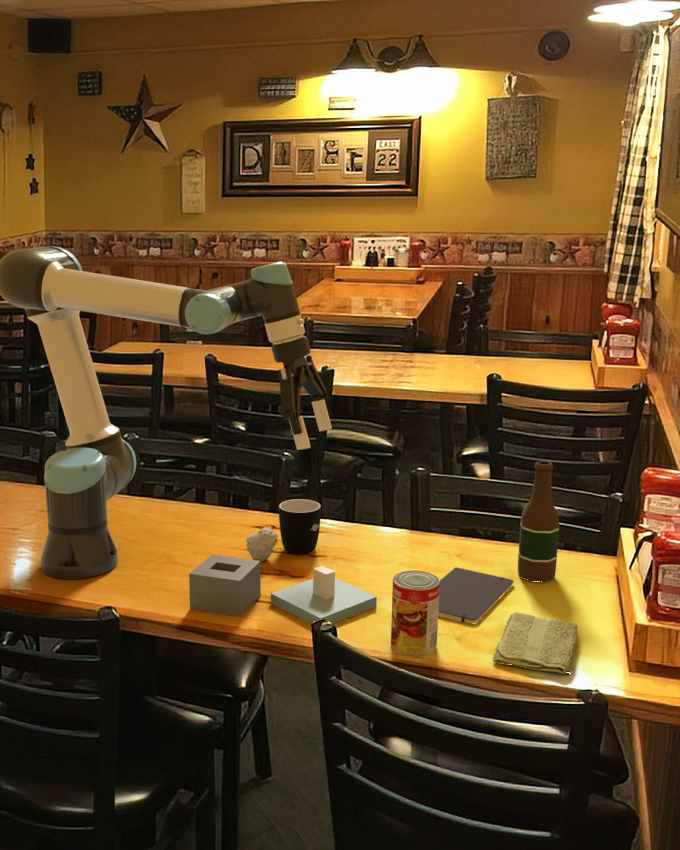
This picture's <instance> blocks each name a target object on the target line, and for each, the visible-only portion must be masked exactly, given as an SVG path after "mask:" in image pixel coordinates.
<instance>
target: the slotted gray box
mask: <svg viewBox="0 0 680 850" xmlns="http://www.w3.org/2000/svg"><path fill="white" fill-rule="evenodd" d="M261 563H262V561H257V560H255V559H248V558H241V557H234V556H227V555H219V554H214V553H213V554H211V555H209V557H207V558H206V559H205V560H203V561H202V562H201V563H200V564H199V565H197V566H196V567H195V568H194V569H193V570H191V571H190V572H189V573H188V579H189V581H188V583H189V584H188V585H189V588H188V589H189V610H195V611H199V612H200V611H201V612H206V613H207V612H208V613H214V614H220V615H227V616H231V617H232V616H233V617H239V618H240V617H242V615H244V613H246V611H248V609H249V608H250V607H251V606H252V605H253V604H254V603H255V602H256V601H257V600H258V598H260V597H261V596H262V595H261V594H262V593H261V590H262V589H261V588H262V586H261V585H262V584H261V577H262V574H261V573H262V572H261V567H262V566H261Z"/></svg>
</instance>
